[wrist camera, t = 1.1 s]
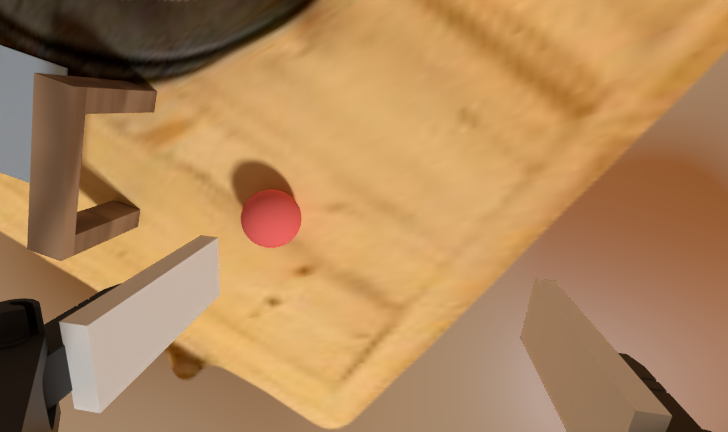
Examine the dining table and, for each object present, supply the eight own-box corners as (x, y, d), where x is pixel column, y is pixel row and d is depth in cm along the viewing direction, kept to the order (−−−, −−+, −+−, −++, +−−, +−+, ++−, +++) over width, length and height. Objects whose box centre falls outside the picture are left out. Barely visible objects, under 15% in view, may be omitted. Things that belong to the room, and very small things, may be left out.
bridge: (111, 217, 39) (27, 249, 30) (127, 81, 35) (33, 72, 26) (137, 226, 39) (61, 261, 30) (156, 91, 35) (73, 86, 26)
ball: (249, 225, 38) (224, 244, 32) (261, 176, 36) (237, 188, 31) (299, 243, 38) (282, 265, 32) (314, 194, 36) (298, 209, 31)
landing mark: (-54, 152, 39) (-57, 152, 39) (-59, 23, 35) (-62, 23, 35) (59, 192, 39) (58, 192, 39) (67, 68, 35) (66, 68, 35)
